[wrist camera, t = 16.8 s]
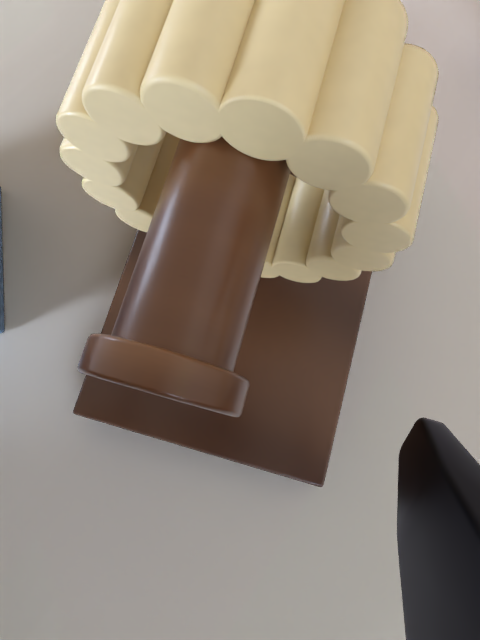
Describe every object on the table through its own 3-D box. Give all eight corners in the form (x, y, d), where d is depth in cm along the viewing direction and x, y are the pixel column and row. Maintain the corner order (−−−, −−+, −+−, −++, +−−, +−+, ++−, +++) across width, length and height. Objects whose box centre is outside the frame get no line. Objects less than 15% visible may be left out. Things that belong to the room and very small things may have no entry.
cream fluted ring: (358, 303, 12) (498, 151, 5) (121, 242, 12) (-34, 33, 6) (378, 218, 12) (528, -21, 6) (150, 163, 13) (38, -113, 6)
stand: (316, 481, 16) (600, 745, 3) (86, 413, 16) (-443, 406, 4) (387, 173, 19) (694, -352, 6) (187, 125, 19) (74, -445, 6)
